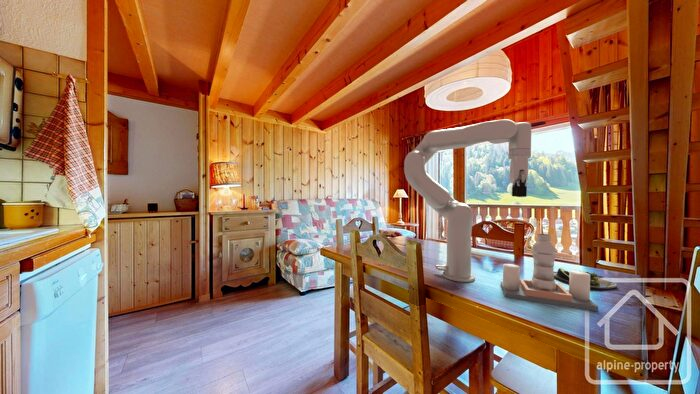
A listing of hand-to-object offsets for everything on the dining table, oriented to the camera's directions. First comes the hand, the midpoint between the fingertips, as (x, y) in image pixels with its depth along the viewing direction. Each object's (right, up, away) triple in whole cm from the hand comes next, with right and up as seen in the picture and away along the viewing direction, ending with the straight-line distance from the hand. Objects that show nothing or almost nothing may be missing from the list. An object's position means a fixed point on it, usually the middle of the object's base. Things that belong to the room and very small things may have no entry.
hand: (518, 196), depth 100 cm
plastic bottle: (-2, -33, -15) cm, 37 cm away
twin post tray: (-2, -35, -15) cm, 38 cm away
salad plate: (+25, -35, -1) cm, 43 cm away
